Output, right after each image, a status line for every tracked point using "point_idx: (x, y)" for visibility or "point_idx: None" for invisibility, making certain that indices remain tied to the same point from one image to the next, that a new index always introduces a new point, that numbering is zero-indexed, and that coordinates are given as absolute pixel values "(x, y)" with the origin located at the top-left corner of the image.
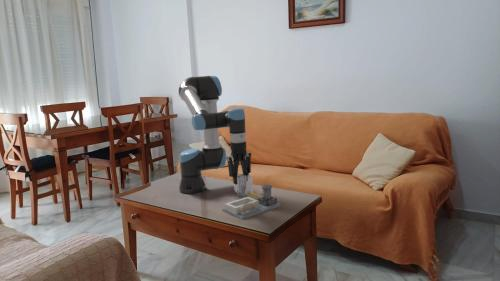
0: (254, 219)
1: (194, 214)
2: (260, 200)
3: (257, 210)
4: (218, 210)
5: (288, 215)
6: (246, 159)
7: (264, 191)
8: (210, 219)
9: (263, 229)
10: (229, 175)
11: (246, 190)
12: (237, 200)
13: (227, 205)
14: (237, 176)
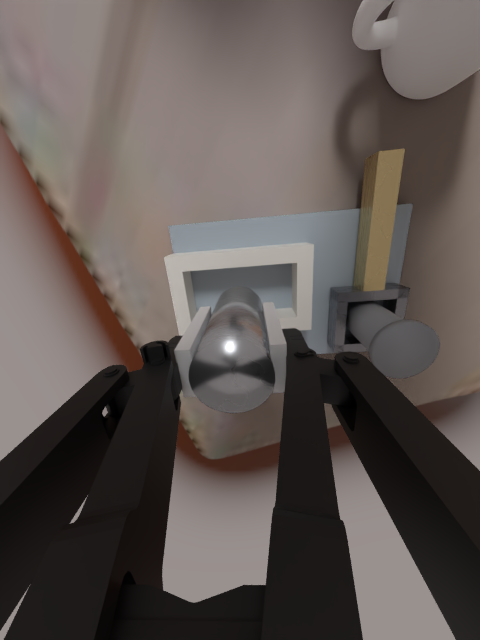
0: None
1: (42, 176)
2: (334, 310)
3: None
4: (158, 210)
5: (330, 418)
6: (466, 570)
7: (367, 345)
8: (95, 281)
9: (209, 440)
10: (98, 378)
11: (421, 79)
12: (238, 258)
13: (169, 278)
14: (191, 385)
